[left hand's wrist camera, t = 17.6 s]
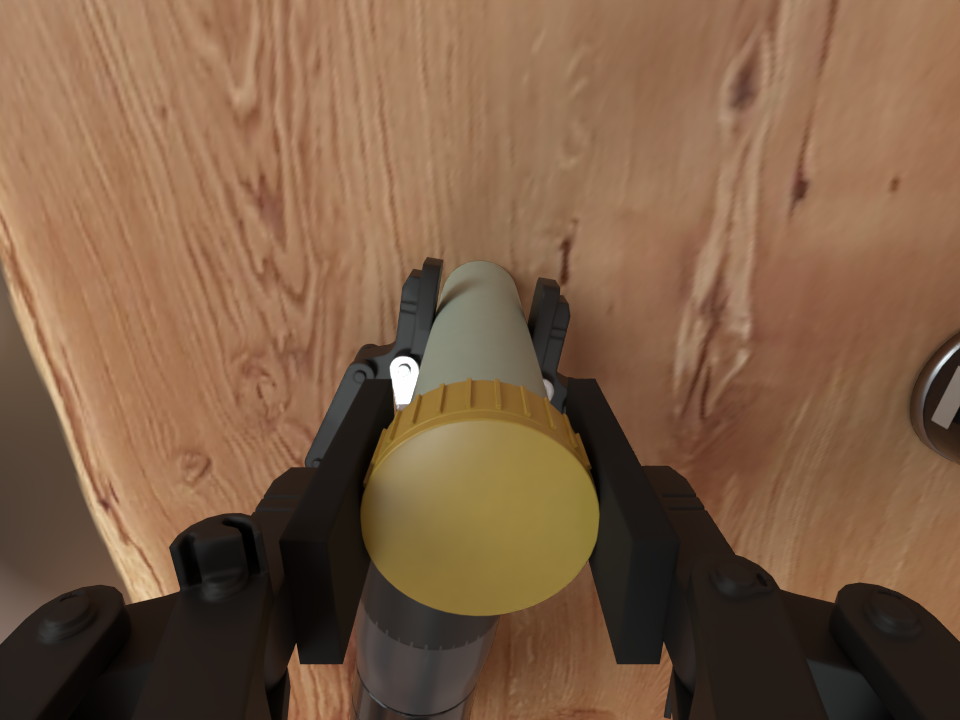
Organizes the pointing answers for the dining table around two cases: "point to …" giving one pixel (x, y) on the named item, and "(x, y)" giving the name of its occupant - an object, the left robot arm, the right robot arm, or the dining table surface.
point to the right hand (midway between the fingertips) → (490, 273)
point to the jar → (479, 333)
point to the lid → (479, 500)
